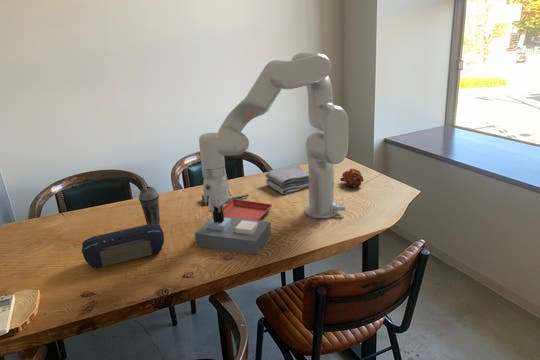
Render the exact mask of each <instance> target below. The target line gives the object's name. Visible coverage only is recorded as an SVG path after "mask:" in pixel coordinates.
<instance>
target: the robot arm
mask: <svg viewBox="0 0 540 360" xmlns="http://www.w3.org/2000/svg"><path fill="white" fill-rule="evenodd" d="M331 70H332V62H331V60H330V59H329V57H328V56H327V55H325V54H323V53H319V52H317V53H316V52H307V51H306V52H298V53H297V54H295V55H294V56H293V57H292V58H291V59H290V60H281V59H279V60H278V59H276V60H271V61H269V62H268V63H267V64H266V65H265V66H264V67H263V69H262V71H261V72H260V74H259V76H258V77H257V79H256V80H255V81H254V83H253V85H252V86H251V88H250V90H249V91H248V92H247V94H246V96H245V97H244V98H243V99H242V100H241V101H239V103H238V104H237V105H236V106H235V107H234V108H233V109H232V110H231V111H230V112H229V113H228V115H226V118H225V119H224V121H223V122H222V124H221V125H220V127H219V129H218V131H217V132H207V133H203V134H201V135H199V138H198V145H199V153H200V164H201V172H202V178H203V195H204V200H205V204H204V205H205V206H206V207H207V208H208V209H207V210H208V212H211V213H212V216H213V219H214V222H218V223H222V222H223V221H224V214H223V209H224V206H225V205H224V204H226V203H225V202H226V201H227V200H228V199H229V197H230V194H231V192H230V186H229V181H228V176H227V172H226V161H225V156H239V155H242V154H244V153H245V152H247V150H248V149H249V146H250V141H249V138H248V137H247V135H246V134H244V133H243V132H242V131H243V130H244V129H245V127H246V126H247V125H248V124H249V123H250V121H252V120H254V119H256V118H258V117H260V116H263V115H265V114H266V113H268V112H269V110H270V109H271V107H272V106H273V104H274V102H275V101H276V99H277V97H279V96H278V95H280V92H281V91H282V90H293V89H298V88H301V87H306V90H307V106H308V107H307V108H308V109H307V110H308V111H307V112H308V113H307V115H308V122H309V125H310V126H312V127H313V128H315V129H317V130H320V131H313V132H312V133H311V134H309V135H308V136H307V138H306V142H305V152H306V158H307V164H308V166H307V167H308V173H309V187H308V205H306V207H304V208H305V209H304V210H305V214H306V215H307V216H309V217H311V218H314V219H324V220H325V219H329V218H332V217H335V216H337V215H338V212H339V211H340V212H345V211H346V205H344V203H337V199H335V165H339V164H341V163H342V162H343V161H345V160H346V158H347V156H348V151H349V117H348V114H347V111H346V110H345V109H344V108H342V107H341V106H338V105H336V104H334V100H333V86H332V82H331V79H330V77H329V75H330V73H331ZM229 192H230V193H229Z"/></svg>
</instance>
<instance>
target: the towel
mask: <svg viewBox="0 0 540 360" xmlns="http://www.w3.org/2000/svg"><path fill="white" fill-rule="evenodd" d="M265 178H266V181H265V184H266V185H267V186H269V187H270V188H272V189H274V190H275V191H276V192H278V193H280V194H281V195H288V194H291V193H293V192H296V191H300V190H302V189H304V188H309V171H306V170H303V169H302V167H300V165H298V163H294V164H291V165H287V166H283V167H279V168H276V169H272V170H269V171H267V173H266V174H265Z"/></svg>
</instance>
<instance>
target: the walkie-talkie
mask: <svg viewBox="0 0 540 360" xmlns="http://www.w3.org/2000/svg"><path fill="white" fill-rule="evenodd" d="M229 193H230V197H229V199H228V200H227V201H226V202H225V203H224V204H228V203H229V202H230V201H231V200H233V199H237V200H241V199H243V198H245V197H246V198H247V197H249V196H250V195H249V194H244V195H239V196H233V197H232V194H231V192H230V191H229ZM201 199H202V205H205V200H204V194H202V195H201Z"/></svg>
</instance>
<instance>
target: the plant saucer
mask: <svg viewBox="0 0 540 360" xmlns="http://www.w3.org/2000/svg"><path fill="white" fill-rule="evenodd" d="M272 207H273V204H272V203H264V202H258V201H251V200H250V201H249V200H243V199H233V200H231V201H230V202H229V203H225V205H224V209H223V214H224V217H232V218H241V219H250V220H259V221H261V219H262V218H264V217H265V215H267V214H268V213H269V211H270V210H271V209H272ZM212 217H213V215H212V216H211V217H210V219H211V218H212Z"/></svg>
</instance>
